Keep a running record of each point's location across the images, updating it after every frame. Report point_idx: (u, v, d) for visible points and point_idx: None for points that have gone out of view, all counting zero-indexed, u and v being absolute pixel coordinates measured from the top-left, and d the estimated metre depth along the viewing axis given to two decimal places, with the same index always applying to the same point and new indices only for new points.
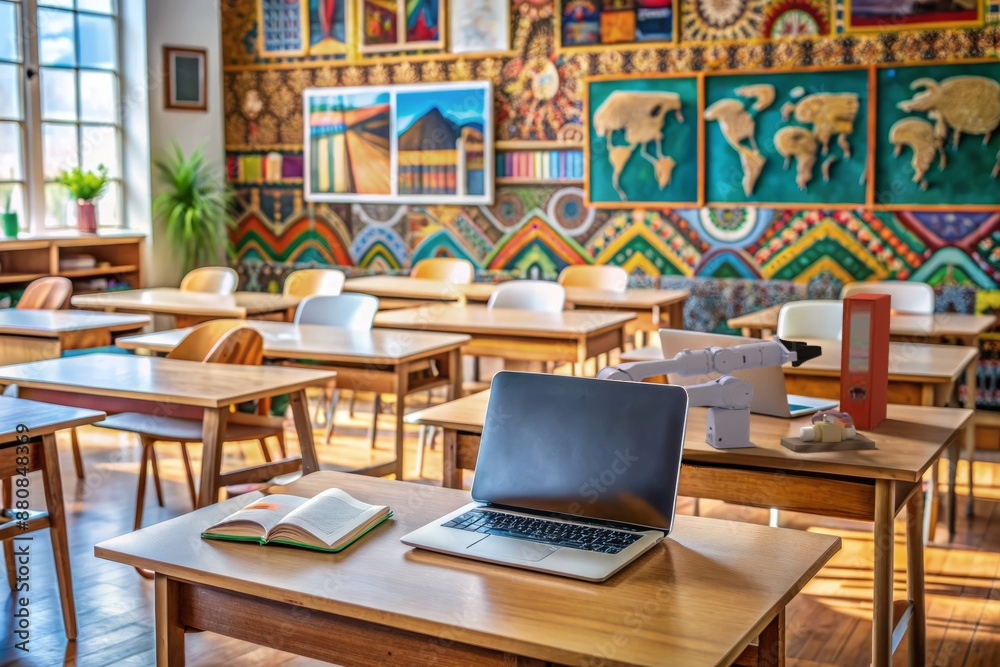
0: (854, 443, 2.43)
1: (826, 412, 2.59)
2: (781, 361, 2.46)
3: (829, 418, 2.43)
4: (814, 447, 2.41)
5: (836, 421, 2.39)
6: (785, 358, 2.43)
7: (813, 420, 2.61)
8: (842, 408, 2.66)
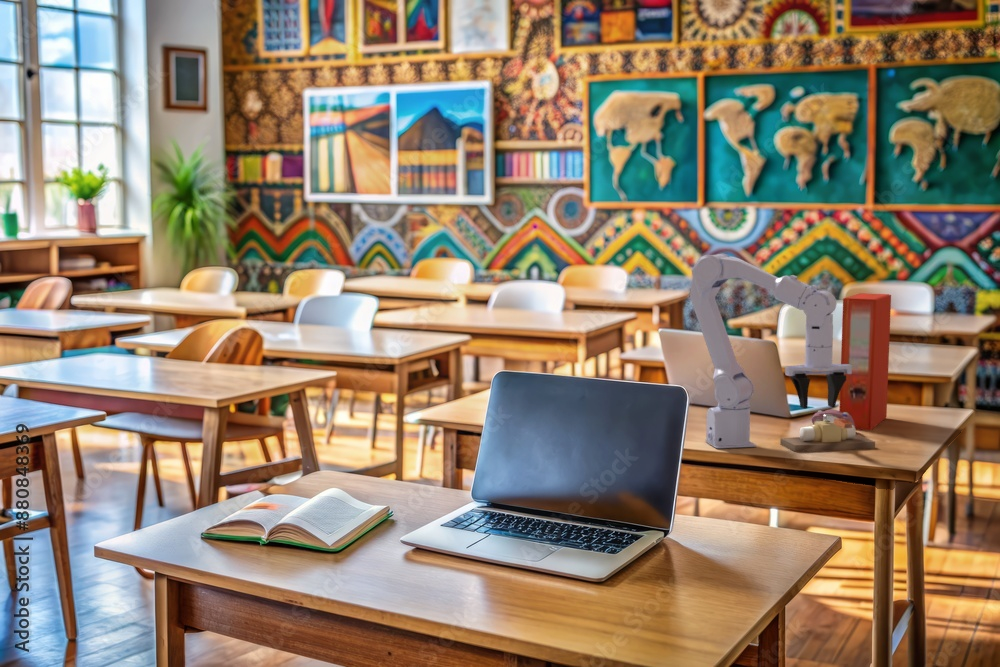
0: (854, 443, 2.43)
1: (826, 412, 2.59)
2: (804, 365, 2.38)
3: (829, 418, 2.43)
4: (814, 447, 2.41)
5: (836, 421, 2.39)
6: (796, 367, 2.36)
7: (813, 420, 2.61)
8: (842, 408, 2.66)
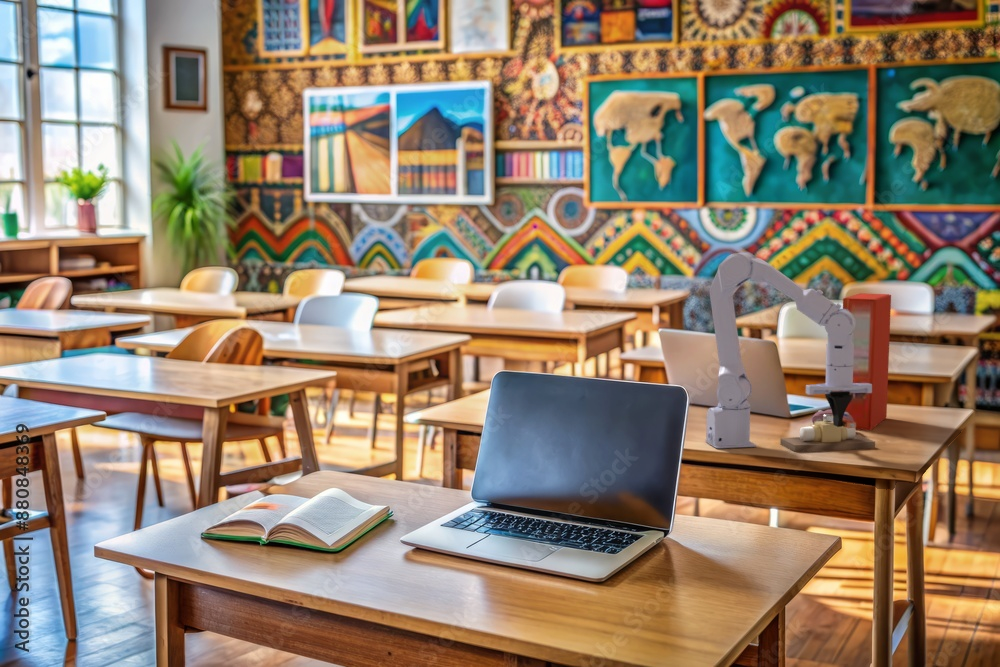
0: (854, 443, 2.43)
1: (827, 411, 2.59)
2: (824, 384, 2.39)
3: (830, 418, 2.43)
4: (814, 447, 2.41)
5: None
6: (817, 386, 2.38)
7: (814, 419, 2.61)
8: None
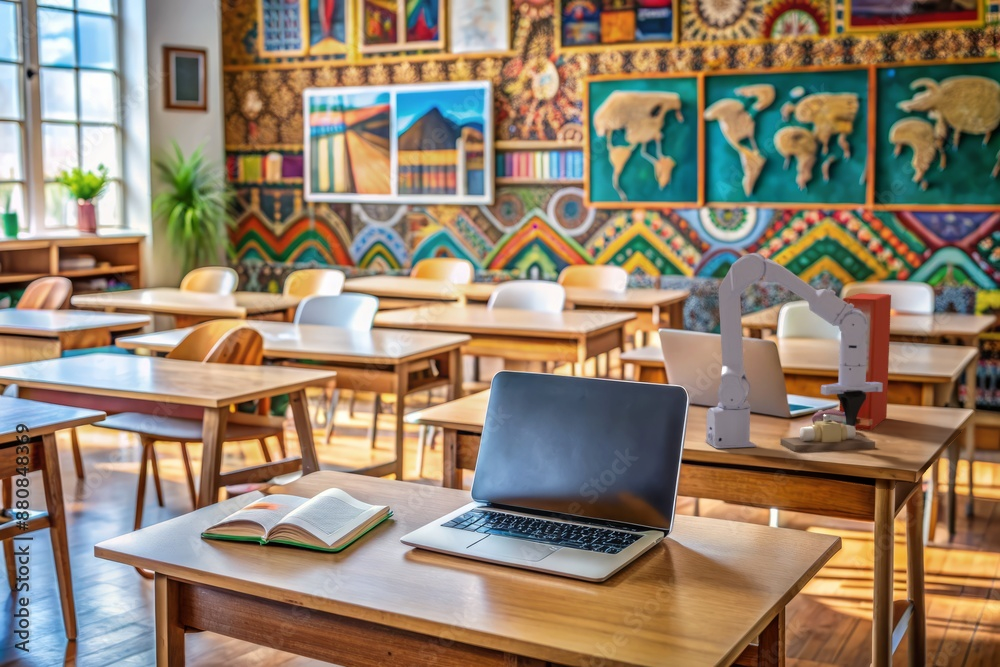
0: (854, 443, 2.43)
1: (827, 411, 2.60)
2: (837, 384, 2.39)
3: (836, 418, 2.43)
4: (814, 447, 2.41)
5: None
6: (831, 386, 2.38)
7: (814, 419, 2.61)
8: (842, 408, 2.66)
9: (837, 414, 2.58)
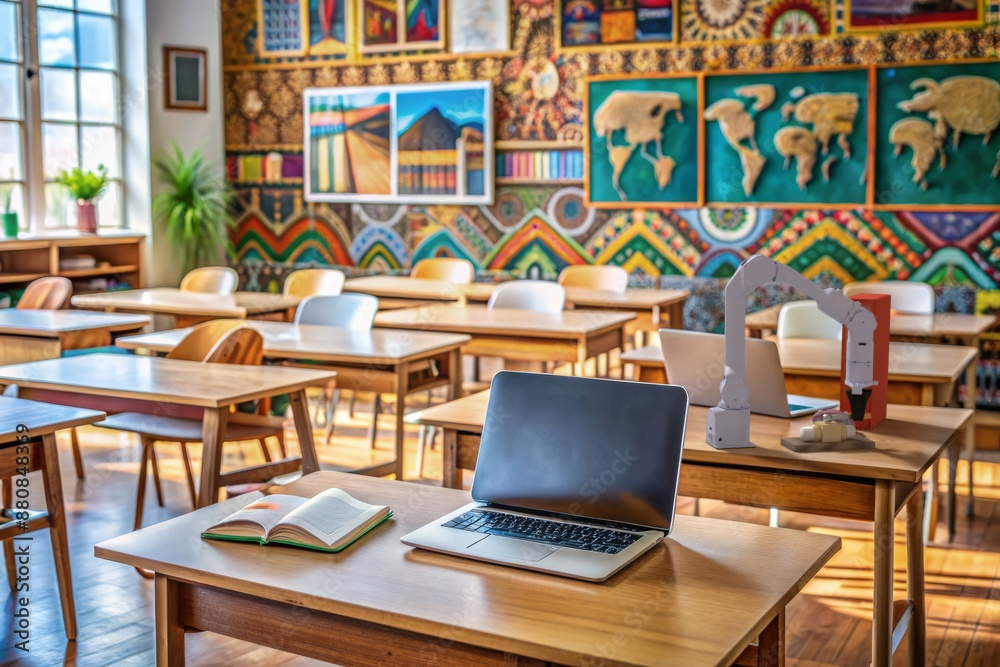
0: (854, 443, 2.43)
1: (827, 411, 2.60)
2: (850, 382, 2.41)
3: (838, 416, 2.45)
4: (814, 447, 2.41)
5: None
6: (854, 384, 2.39)
7: (814, 419, 2.62)
8: (842, 408, 2.66)
9: None
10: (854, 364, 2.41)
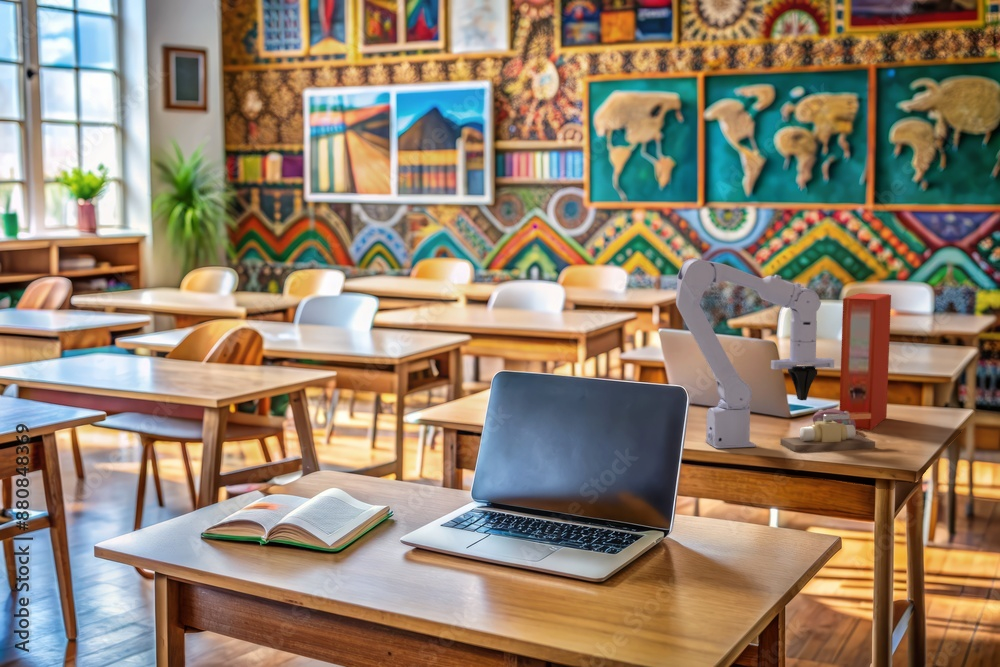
0: (854, 443, 2.43)
1: (827, 411, 2.60)
2: (789, 359, 2.48)
3: (838, 416, 2.45)
4: (814, 447, 2.41)
5: (855, 415, 2.45)
6: (781, 361, 2.46)
7: (814, 419, 2.62)
8: (842, 408, 2.66)
9: (837, 413, 2.59)
10: (790, 342, 2.47)
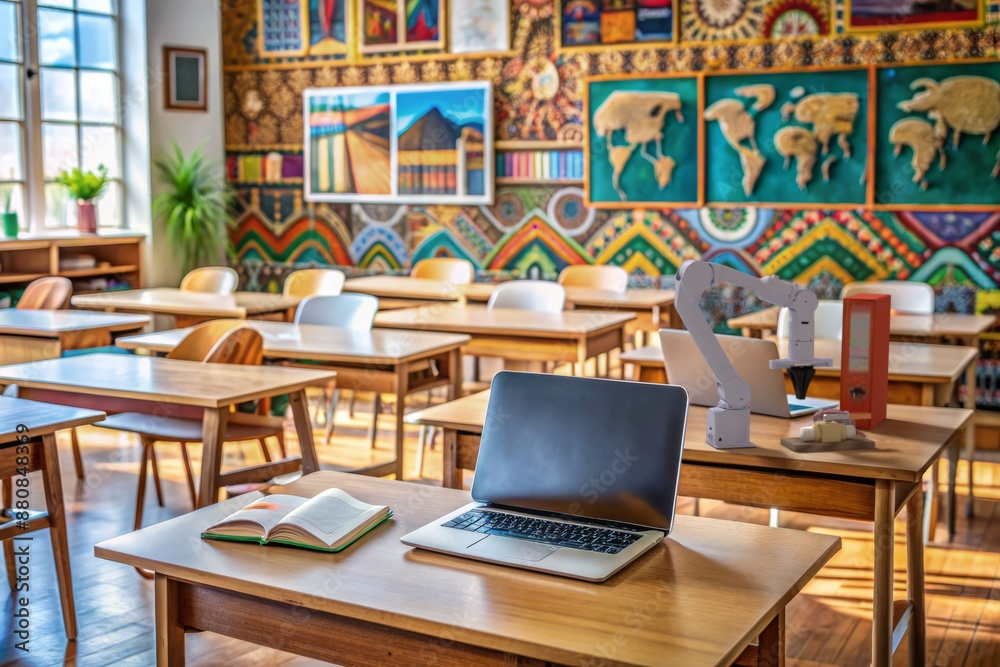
0: (854, 443, 2.43)
1: (827, 411, 2.61)
2: (787, 359, 2.48)
3: (838, 416, 2.45)
4: (814, 447, 2.41)
5: (855, 415, 2.45)
6: None
7: (814, 419, 2.62)
8: (842, 408, 2.66)
9: (838, 413, 2.59)
10: (788, 341, 2.47)
